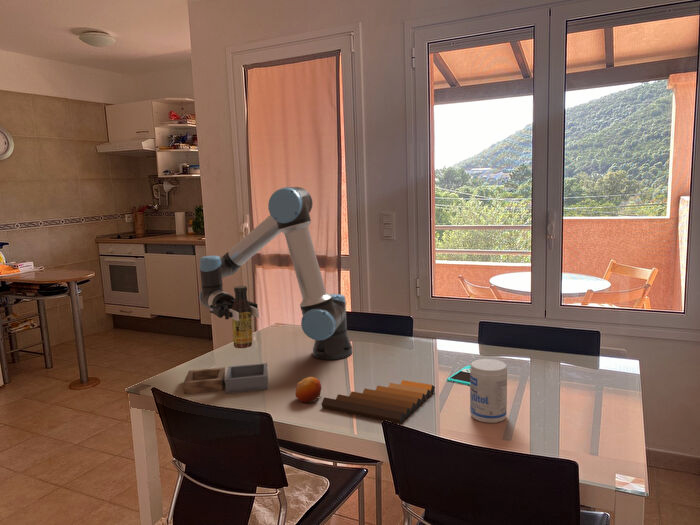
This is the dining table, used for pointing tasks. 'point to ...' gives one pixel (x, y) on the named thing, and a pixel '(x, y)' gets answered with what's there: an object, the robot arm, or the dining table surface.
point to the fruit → (308, 390)
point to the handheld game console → (461, 376)
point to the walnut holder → (204, 380)
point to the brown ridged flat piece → (383, 401)
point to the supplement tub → (488, 390)
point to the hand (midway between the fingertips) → (247, 314)
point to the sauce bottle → (242, 319)
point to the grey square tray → (246, 378)
